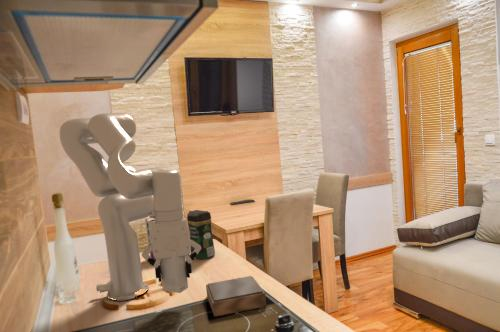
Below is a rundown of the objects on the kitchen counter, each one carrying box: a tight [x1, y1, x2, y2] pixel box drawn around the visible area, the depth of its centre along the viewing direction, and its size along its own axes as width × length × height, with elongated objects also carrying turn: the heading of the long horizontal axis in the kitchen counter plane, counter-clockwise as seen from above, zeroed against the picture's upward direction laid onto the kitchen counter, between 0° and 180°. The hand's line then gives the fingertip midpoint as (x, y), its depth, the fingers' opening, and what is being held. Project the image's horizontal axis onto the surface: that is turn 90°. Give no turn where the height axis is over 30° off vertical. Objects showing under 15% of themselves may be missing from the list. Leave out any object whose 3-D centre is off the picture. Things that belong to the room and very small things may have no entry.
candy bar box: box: [144, 218, 155, 260], centre depth 162 cm, size 11×5×16 cm, turn 114°
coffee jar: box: [186, 209, 216, 260], centre depth 157 cm, size 10×8×19 cm
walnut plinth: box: [205, 275, 267, 318], centre depth 110 cm, size 14×14×4 cm
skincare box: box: [159, 250, 189, 294], centre depth 110 cm, size 6×4×12 cm
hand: (174, 277), depth 110 cm, fingers closed on skincare box, 7 cm apart
